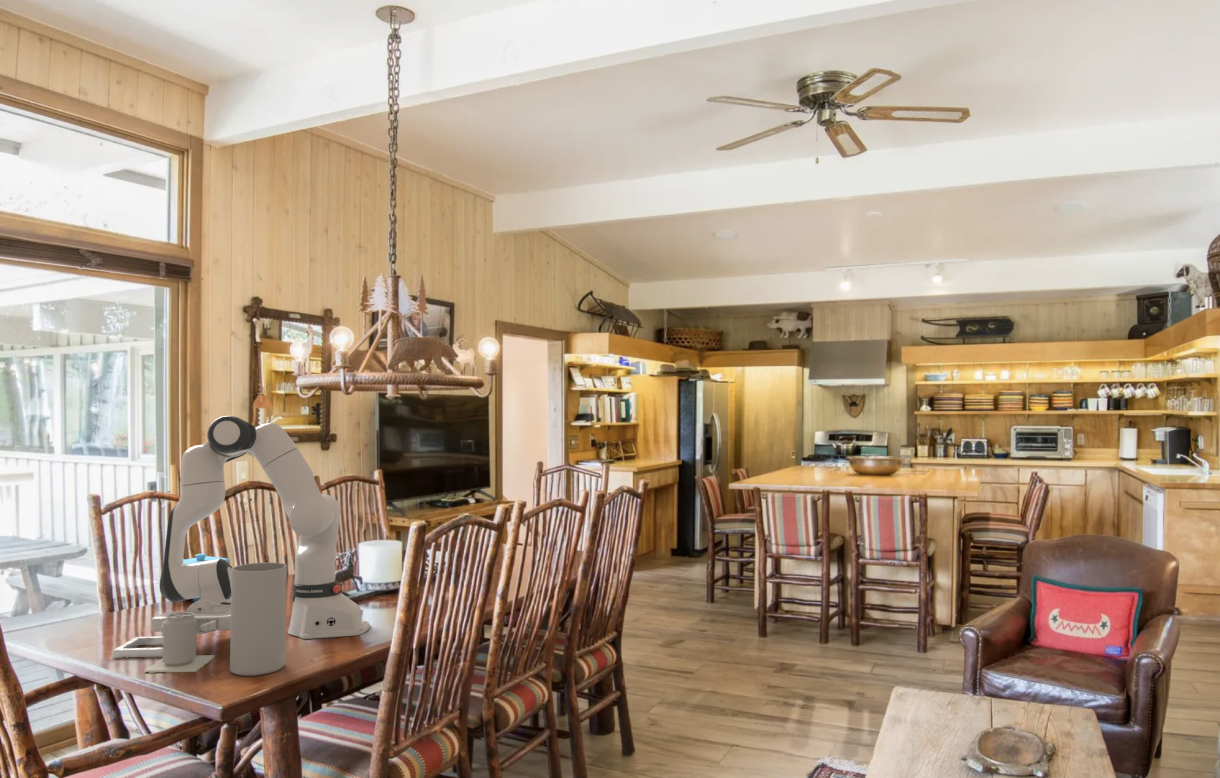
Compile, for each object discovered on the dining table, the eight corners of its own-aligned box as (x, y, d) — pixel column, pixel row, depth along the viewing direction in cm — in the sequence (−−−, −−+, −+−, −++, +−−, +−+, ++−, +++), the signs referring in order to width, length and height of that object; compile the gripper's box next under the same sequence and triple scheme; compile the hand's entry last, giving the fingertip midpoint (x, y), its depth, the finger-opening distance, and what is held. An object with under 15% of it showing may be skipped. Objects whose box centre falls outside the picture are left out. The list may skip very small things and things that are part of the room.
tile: (214, 657, 215) (214, 655, 215) (196, 671, 203) (196, 669, 203) (165, 658, 213) (165, 656, 213) (144, 673, 202) (144, 670, 202)
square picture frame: (185, 643, 228) (186, 635, 228) (165, 656, 215) (166, 649, 215) (135, 644, 226) (135, 636, 226) (112, 658, 213) (112, 650, 214)
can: (181, 668, 204) (182, 618, 204) (155, 665, 205) (156, 616, 206) (202, 659, 211) (203, 611, 211) (177, 657, 213) (178, 609, 213)
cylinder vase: (281, 659, 214) (283, 561, 215) (287, 672, 203) (289, 569, 204) (228, 665, 208) (230, 564, 209) (231, 679, 197) (233, 573, 198)
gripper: (163, 604, 222) (140, 617, 208) (243, 603, 224) (225, 615, 211) (162, 628, 222) (139, 642, 208) (242, 626, 224) (224, 640, 211)
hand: (183, 629), depth 210 cm, fingers open, 8 cm apart
